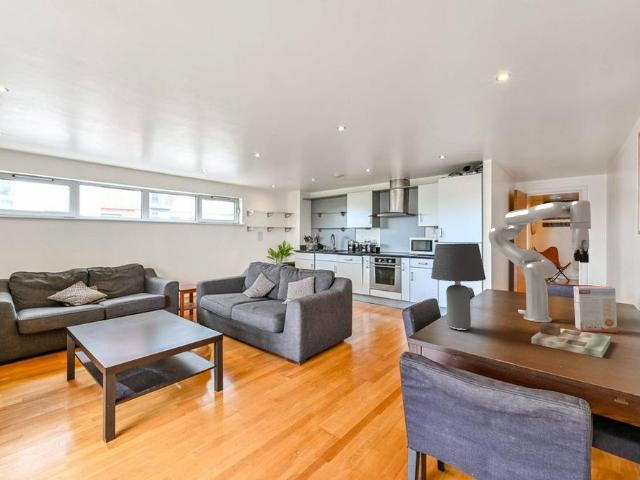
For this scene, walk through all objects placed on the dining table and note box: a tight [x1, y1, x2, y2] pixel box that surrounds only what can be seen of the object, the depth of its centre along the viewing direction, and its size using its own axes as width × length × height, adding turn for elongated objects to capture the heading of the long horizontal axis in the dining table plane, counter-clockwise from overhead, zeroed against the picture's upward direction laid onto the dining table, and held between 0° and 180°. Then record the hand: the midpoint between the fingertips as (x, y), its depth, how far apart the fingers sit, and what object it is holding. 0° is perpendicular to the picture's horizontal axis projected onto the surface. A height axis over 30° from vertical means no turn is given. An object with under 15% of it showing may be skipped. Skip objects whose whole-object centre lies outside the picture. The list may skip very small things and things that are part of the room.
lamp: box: [430, 242, 487, 330], centre depth 151 cm, size 25×25×43 cm
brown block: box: [539, 322, 561, 336], centre depth 132 cm, size 6×6×4 cm
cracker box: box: [573, 285, 618, 334], centre depth 142 cm, size 14×6×21 cm, turn 71°
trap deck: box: [530, 327, 612, 359], centre depth 127 cm, size 22×24×2 cm
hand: (581, 261), depth 143 cm, fingers open, 9 cm apart
